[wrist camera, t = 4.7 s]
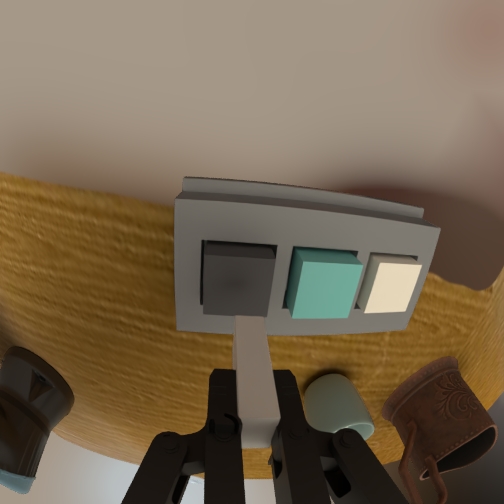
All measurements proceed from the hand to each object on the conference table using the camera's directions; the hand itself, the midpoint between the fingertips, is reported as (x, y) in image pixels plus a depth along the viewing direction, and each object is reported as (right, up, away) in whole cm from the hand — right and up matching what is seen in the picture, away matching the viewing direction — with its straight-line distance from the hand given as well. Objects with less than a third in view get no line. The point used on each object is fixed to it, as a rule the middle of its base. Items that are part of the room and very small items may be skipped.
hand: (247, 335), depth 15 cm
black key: (-1, +3, +8) cm, 9 cm away
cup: (+11, -14, +20) cm, 26 cm away
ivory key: (+13, +2, +10) cm, 16 cm away
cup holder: (+31, -22, +25) cm, 45 cm away
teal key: (+6, +3, +9) cm, 11 cm away
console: (+6, +4, +12) cm, 14 cm away
